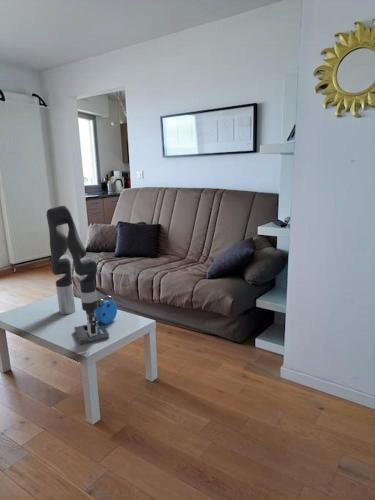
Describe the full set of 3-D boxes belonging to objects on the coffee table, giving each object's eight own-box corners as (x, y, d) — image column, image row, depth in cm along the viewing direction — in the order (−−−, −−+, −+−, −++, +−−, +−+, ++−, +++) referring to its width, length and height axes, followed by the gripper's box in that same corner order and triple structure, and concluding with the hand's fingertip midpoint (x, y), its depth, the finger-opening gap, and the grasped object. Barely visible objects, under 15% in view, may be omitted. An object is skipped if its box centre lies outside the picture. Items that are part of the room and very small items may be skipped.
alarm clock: (110, 317, 200) (108, 292, 197) (118, 319, 197) (116, 294, 194) (93, 326, 190) (90, 300, 186) (101, 328, 186) (99, 302, 183)
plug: (88, 336, 175) (86, 320, 173) (96, 335, 177) (94, 318, 175) (90, 340, 171) (88, 323, 169) (98, 338, 173) (96, 321, 171)
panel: (74, 332, 182) (74, 327, 182) (101, 326, 189) (100, 321, 188) (80, 346, 168) (80, 340, 167) (109, 339, 174) (108, 333, 173)
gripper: (78, 296, 174) (82, 328, 178) (84, 305, 162) (87, 339, 165) (93, 293, 177) (96, 324, 181) (100, 302, 165) (103, 335, 169)
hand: (92, 331), depth 173 cm, fingers closed on plug, 4 cm apart
